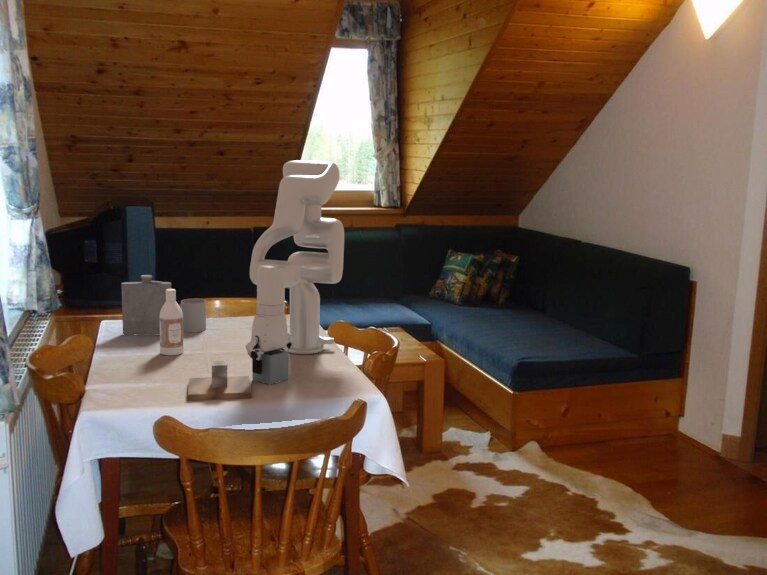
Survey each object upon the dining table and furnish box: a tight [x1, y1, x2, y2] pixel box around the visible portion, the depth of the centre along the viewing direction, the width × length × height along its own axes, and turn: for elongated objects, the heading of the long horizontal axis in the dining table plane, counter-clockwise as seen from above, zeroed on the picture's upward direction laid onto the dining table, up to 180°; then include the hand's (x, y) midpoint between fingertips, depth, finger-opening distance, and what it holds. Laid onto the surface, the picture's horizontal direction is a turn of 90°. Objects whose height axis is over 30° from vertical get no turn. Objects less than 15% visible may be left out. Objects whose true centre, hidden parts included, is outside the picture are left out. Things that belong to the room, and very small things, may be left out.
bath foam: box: [159, 288, 184, 357], centre depth 234 cm, size 7×7×20 cm
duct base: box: [187, 360, 252, 401], centre depth 202 cm, size 16×14×8 cm
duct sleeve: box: [252, 349, 290, 385], centre depth 213 cm, size 7×7×8 cm
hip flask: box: [121, 274, 172, 336], centre depth 256 cm, size 16×4×20 cm, turn 102°
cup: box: [180, 298, 207, 333], centre depth 265 cm, size 8×8×10 cm
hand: (269, 369), depth 213 cm, fingers open, 9 cm apart
